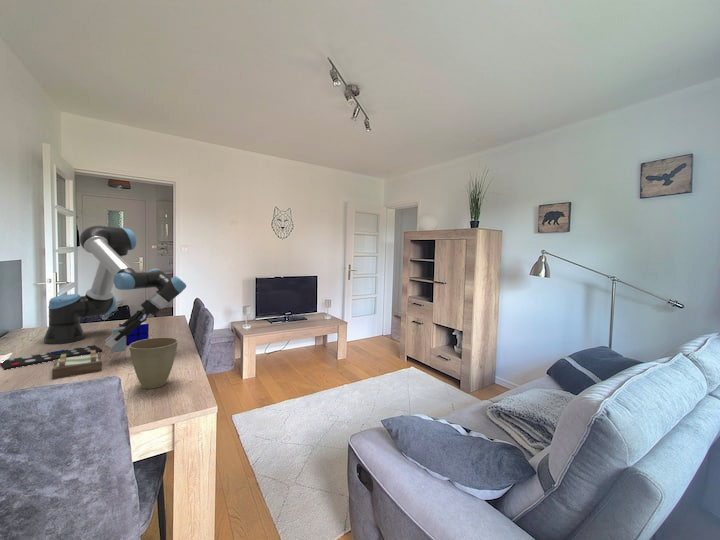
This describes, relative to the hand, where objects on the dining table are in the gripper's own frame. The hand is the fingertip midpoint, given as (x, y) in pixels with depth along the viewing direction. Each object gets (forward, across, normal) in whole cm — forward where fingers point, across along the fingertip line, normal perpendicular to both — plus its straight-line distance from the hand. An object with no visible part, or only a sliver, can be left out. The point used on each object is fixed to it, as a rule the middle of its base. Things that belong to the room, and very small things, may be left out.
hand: (107, 344), depth 130 cm
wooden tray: (+12, -4, +1) cm, 13 cm away
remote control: (+19, +20, +6) cm, 28 cm away
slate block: (0, 0, -5) cm, 5 cm away
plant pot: (-3, -36, -14) cm, 39 cm away
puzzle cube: (-2, +29, -14) cm, 32 cm away
